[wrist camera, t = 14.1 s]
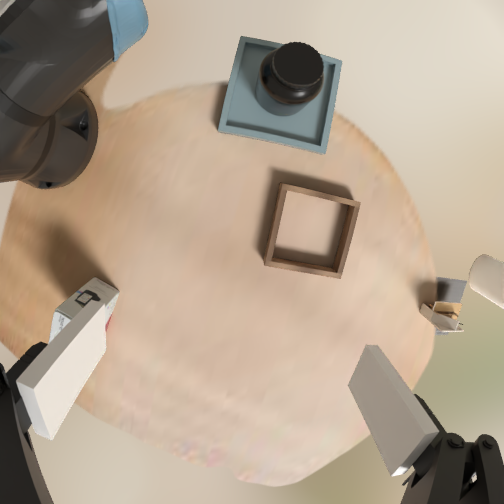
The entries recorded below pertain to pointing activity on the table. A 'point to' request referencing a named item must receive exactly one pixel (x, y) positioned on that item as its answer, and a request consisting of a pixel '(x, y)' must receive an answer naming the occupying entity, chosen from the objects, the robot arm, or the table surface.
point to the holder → (343, 244)
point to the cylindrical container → (488, 278)
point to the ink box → (84, 304)
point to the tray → (268, 125)
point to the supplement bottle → (289, 79)
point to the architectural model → (445, 306)
